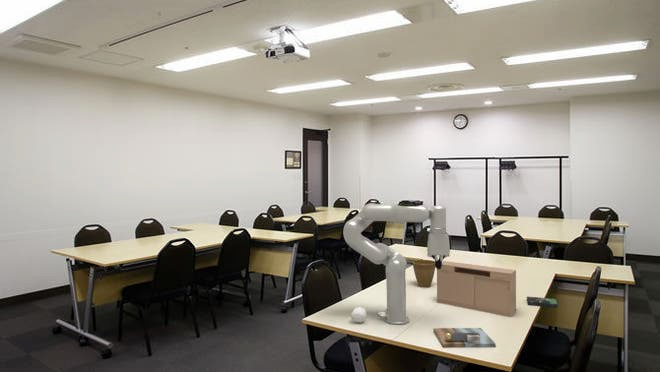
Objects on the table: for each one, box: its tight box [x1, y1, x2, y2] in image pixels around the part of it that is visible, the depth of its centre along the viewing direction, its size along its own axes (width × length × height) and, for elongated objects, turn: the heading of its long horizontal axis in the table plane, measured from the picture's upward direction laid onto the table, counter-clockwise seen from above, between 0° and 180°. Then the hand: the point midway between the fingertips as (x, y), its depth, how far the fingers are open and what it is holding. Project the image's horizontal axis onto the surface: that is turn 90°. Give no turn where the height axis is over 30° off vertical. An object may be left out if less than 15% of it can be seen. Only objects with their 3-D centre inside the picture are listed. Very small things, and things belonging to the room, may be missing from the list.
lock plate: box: [432, 327, 496, 348], centre depth 184 cm, size 22×18×4 cm
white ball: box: [350, 306, 368, 324], centre depth 207 cm, size 8×8×8 cm
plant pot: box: [412, 259, 436, 289], centre depth 271 cm, size 15×15×16 cm
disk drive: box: [526, 296, 559, 309], centre depth 231 cm, size 10×3×15 cm
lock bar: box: [445, 332, 480, 342], centre depth 178 cm, size 14×3×3 cm, turn 88°
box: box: [436, 260, 517, 318], centre depth 227 cm, size 10×40×22 cm, turn 50°
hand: (438, 268), depth 203 cm, fingers closed
